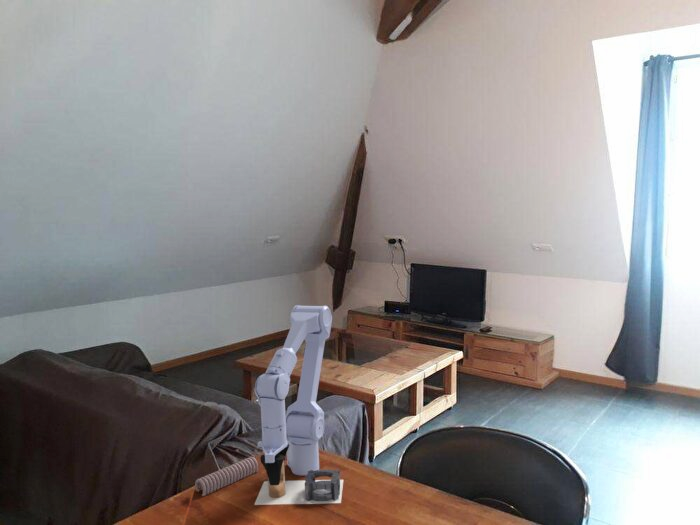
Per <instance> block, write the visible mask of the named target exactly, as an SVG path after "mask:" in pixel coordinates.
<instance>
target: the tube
mask: <svg viewBox="0 0 700 525" xmlns="http://www.w3.org/2000/svg"><path fill="white" fill-rule="evenodd" d="M277 455H278V456H283V455H282V454H277ZM285 471H286V470H285V463H284V461H283V464H282V469H281V478H280V483H279V485H270V483H269V479H268V478H267V481H268V489H269V496H270V497H271V498H280V497H283V496H284V495H285V494H286V489H285V481H286V475H285V474H286V473H285Z"/></svg>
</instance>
